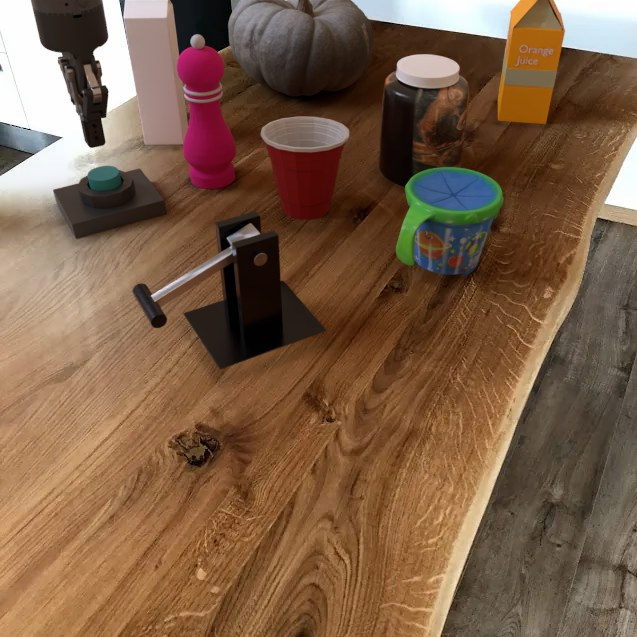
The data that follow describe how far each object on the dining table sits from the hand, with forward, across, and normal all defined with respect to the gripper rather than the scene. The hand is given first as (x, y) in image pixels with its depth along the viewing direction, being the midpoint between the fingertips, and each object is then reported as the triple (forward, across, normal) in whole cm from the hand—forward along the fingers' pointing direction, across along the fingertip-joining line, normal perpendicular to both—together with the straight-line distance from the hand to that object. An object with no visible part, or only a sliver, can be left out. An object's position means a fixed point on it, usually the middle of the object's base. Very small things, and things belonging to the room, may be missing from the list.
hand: (95, 144), depth 92 cm
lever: (+1, +33, +1) cm, 33 cm away
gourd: (+9, -25, +44) cm, 51 cm away
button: (+6, 0, 0) cm, 6 cm away
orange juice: (+8, +4, +68) cm, 69 cm away
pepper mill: (+9, 0, +15) cm, 18 cm away
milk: (+9, -16, +14) cm, 24 cm away
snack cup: (+9, +33, +31) cm, 46 cm away
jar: (+9, +12, +42) cm, 45 cm away
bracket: (+9, +33, +6) cm, 34 cm away
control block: (+9, 0, 0) cm, 9 cm away
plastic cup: (+9, +15, +22) cm, 28 cm away
